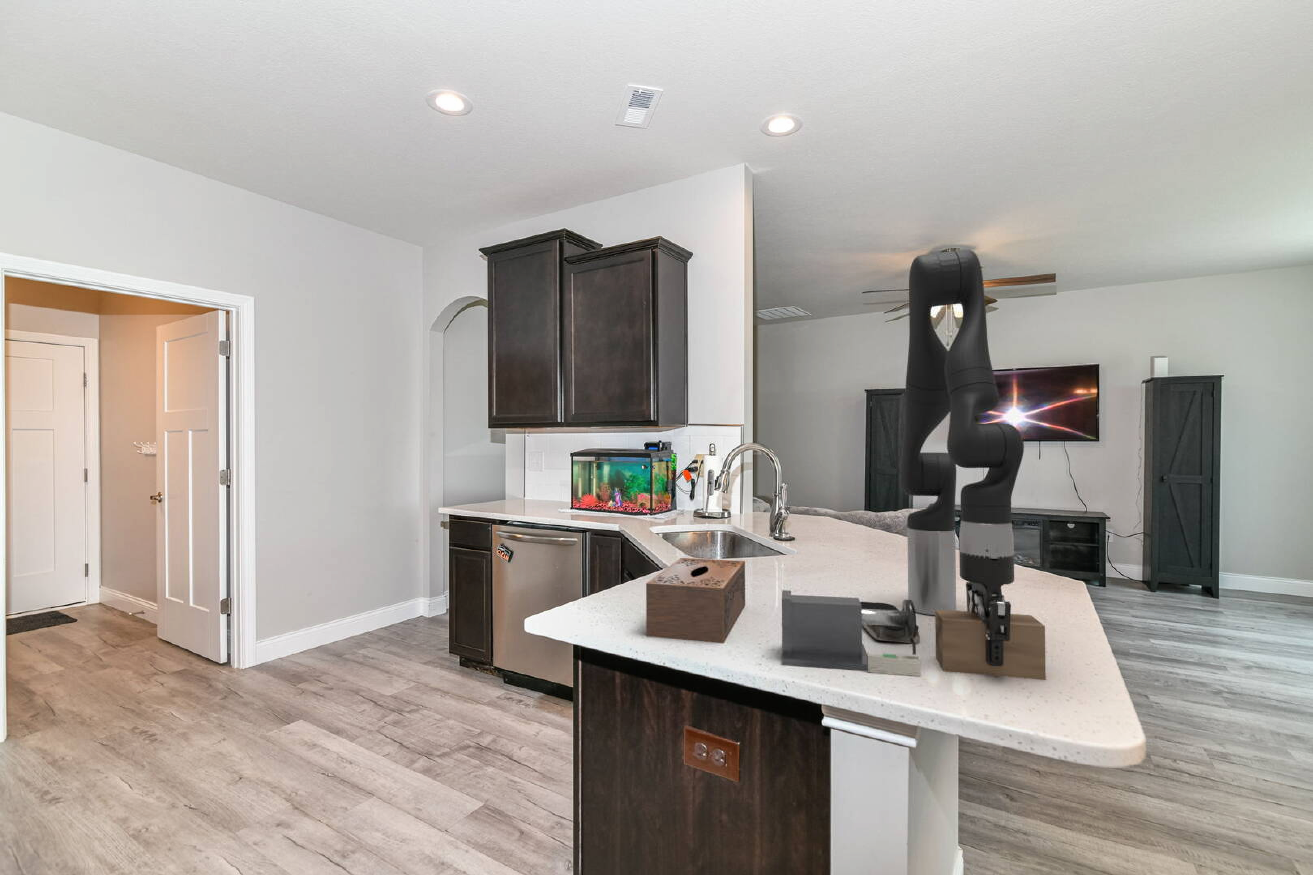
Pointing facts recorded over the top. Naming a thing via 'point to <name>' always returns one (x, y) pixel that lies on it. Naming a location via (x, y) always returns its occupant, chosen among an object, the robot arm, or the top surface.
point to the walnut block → (967, 645)
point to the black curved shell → (887, 631)
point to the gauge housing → (833, 637)
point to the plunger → (894, 619)
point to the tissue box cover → (696, 600)
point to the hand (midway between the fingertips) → (987, 657)
